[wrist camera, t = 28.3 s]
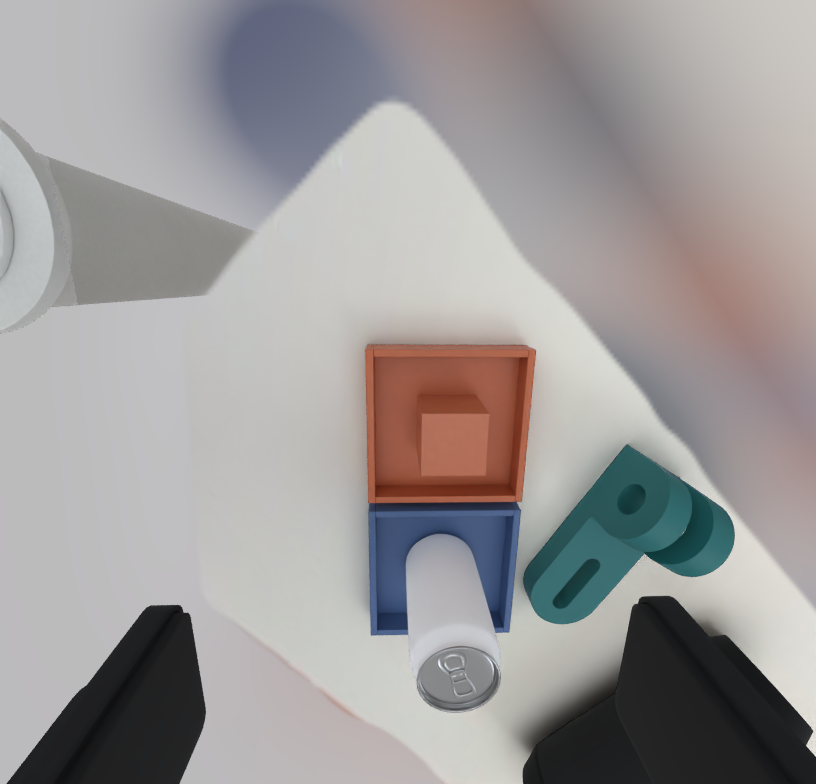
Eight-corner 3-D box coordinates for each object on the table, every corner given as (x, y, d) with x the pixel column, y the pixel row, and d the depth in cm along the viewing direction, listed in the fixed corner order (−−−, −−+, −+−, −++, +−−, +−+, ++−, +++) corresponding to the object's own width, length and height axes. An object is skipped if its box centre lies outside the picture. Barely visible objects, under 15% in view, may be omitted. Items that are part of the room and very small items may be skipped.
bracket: (626, 444, 36) (688, 487, 29) (681, 479, 37) (754, 529, 30) (510, 587, 40) (537, 659, 32) (562, 615, 41) (601, 691, 34)
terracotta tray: (369, 488, 37) (368, 503, 34) (367, 344, 33) (365, 349, 31) (513, 487, 37) (521, 501, 35) (526, 345, 34) (536, 350, 31)
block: (416, 449, 35) (420, 476, 30) (417, 394, 34) (421, 413, 29) (473, 449, 35) (486, 476, 31) (476, 394, 34) (490, 413, 29)
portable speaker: (557, 778, 47) (599, 905, 38) (506, 734, 45) (536, 857, 36) (745, 659, 44) (846, 767, 34) (699, 605, 41) (791, 703, 32)
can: (461, 522, 37) (492, 630, 26) (481, 577, 39) (517, 702, 27) (396, 543, 38) (396, 659, 26) (417, 596, 39) (427, 728, 28)
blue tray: (372, 614, 40) (370, 635, 38) (370, 496, 37) (368, 511, 34) (502, 612, 41) (509, 632, 38) (512, 495, 37) (521, 510, 35)
